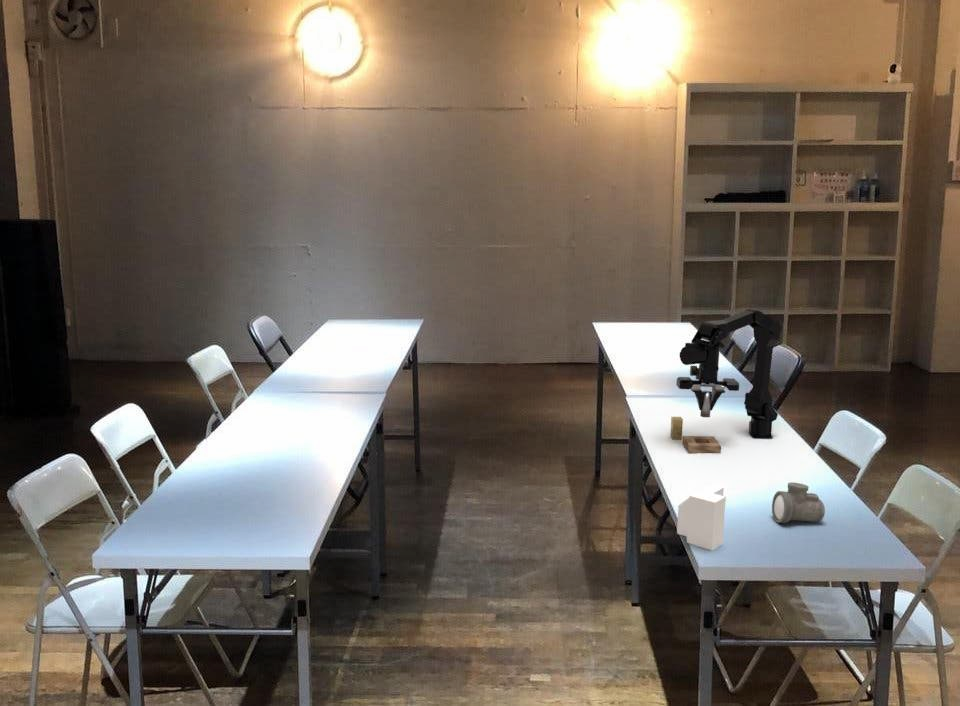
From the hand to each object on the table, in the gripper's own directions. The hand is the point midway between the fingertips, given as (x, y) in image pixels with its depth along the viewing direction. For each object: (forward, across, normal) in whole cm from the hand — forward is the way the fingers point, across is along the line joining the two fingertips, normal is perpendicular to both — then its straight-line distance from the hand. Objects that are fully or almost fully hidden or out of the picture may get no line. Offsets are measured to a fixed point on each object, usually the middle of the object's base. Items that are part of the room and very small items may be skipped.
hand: (705, 410), depth 295 cm
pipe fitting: (+13, -12, +61) cm, 63 cm away
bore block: (+13, +1, +1) cm, 13 cm away
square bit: (+13, +7, -10) cm, 18 cm away
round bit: (+2, 0, 0) cm, 2 cm away
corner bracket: (+14, +16, +72) cm, 75 cm away
